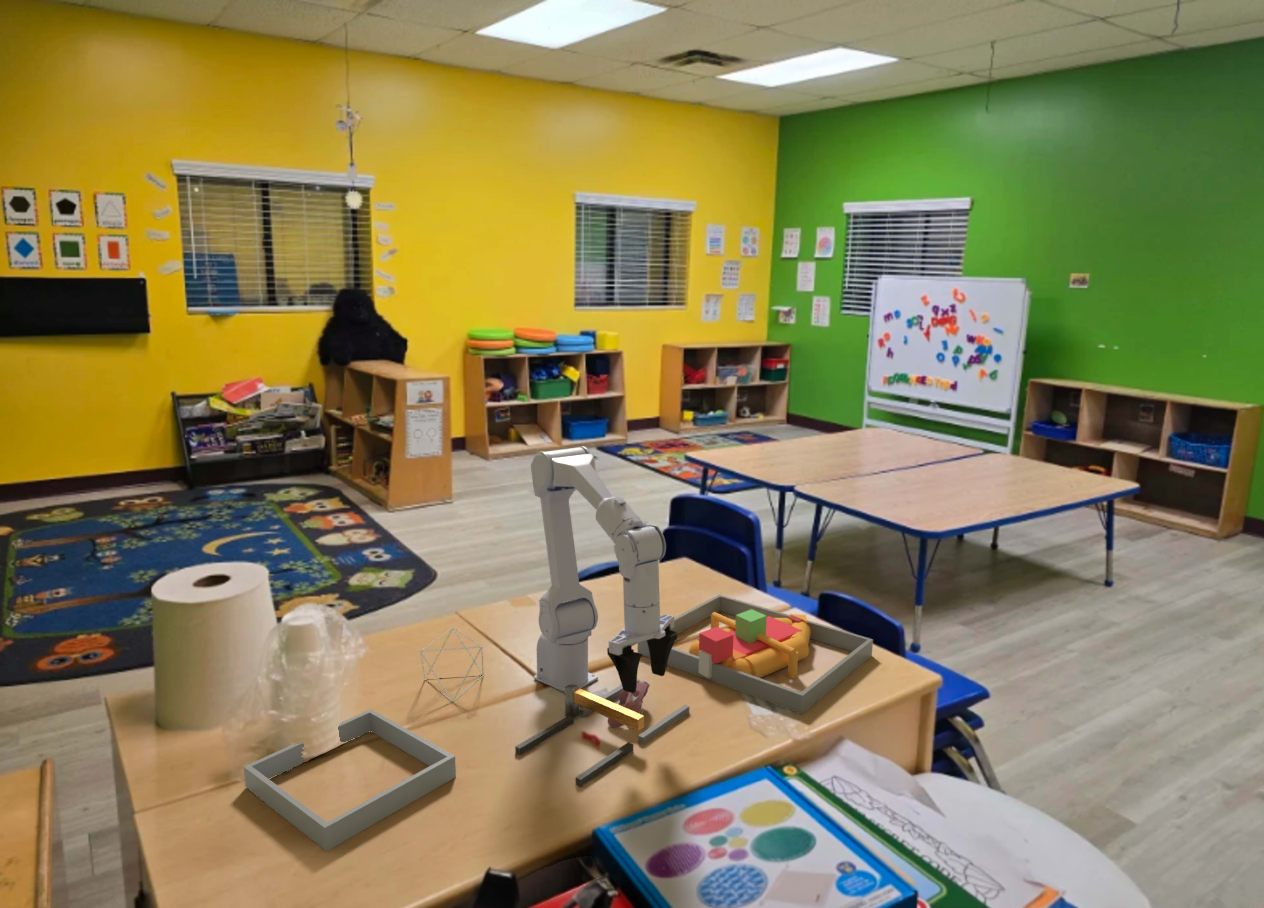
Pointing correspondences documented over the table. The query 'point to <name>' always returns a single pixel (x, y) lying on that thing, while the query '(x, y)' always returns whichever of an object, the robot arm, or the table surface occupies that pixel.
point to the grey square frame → (369, 810)
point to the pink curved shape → (632, 700)
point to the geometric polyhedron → (451, 649)
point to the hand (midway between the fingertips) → (644, 682)
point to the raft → (753, 644)
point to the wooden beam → (600, 707)
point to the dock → (614, 756)
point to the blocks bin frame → (756, 685)
